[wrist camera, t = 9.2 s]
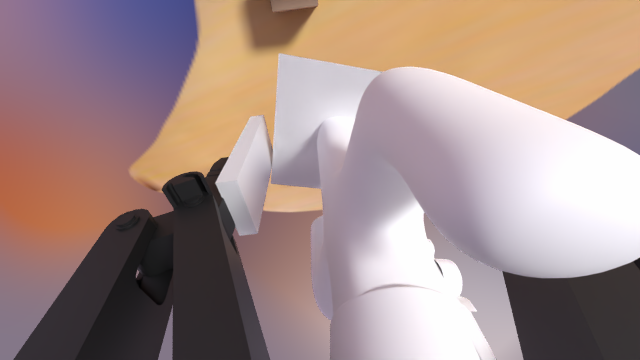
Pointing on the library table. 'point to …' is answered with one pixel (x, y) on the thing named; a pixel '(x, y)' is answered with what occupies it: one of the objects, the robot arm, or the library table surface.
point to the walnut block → (292, 5)
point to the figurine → (440, 200)
